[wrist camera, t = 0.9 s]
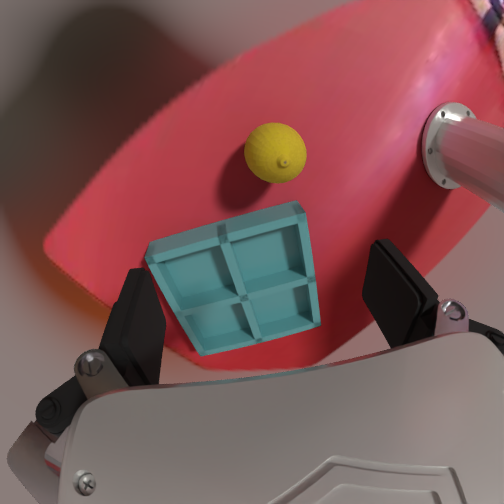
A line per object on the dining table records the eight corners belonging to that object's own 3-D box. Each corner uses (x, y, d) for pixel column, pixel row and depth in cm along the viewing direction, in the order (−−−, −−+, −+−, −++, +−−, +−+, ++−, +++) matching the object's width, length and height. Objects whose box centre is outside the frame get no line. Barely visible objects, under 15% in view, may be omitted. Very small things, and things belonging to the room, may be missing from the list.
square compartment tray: (296, 200, 32) (305, 212, 29) (314, 309, 42) (320, 325, 39) (149, 242, 32) (144, 258, 29) (200, 338, 42) (200, 356, 39)
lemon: (280, 176, 30) (300, 204, 24) (232, 159, 29) (239, 182, 22) (301, 131, 28) (329, 145, 21) (252, 111, 26) (266, 117, 19)
